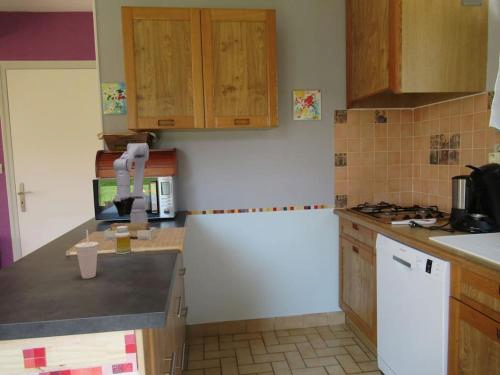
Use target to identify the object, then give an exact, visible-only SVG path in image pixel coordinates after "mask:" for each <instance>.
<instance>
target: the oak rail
mask: <svg viewBox="0 0 500 375" xmlns="http://www.w3.org/2000/svg"><path fill="white" fill-rule="evenodd" d="M109 226H110V228H111V231H116V227H119V226H127V227H128V230H127V232H129V233H130V237H138V236H137V231H138V230H150V228H151V227H150V222H148V223H131V222H120V223H118V222H114V223H111V224H110V225H109Z"/></svg>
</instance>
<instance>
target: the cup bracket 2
mask: <svg viewBox="0 0 500 375" xmlns="http://www.w3.org/2000/svg"><path fill="white" fill-rule="evenodd" d="M136 237H137V240H138V239H141V240H140V241H152V240H153V239H154V238H156V237H157V227H150V230H138V231H137V236H136ZM152 238H153V239H152ZM142 239H143V240H142Z"/></svg>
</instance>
